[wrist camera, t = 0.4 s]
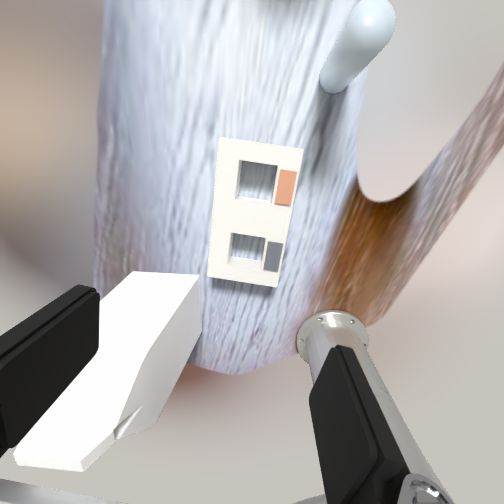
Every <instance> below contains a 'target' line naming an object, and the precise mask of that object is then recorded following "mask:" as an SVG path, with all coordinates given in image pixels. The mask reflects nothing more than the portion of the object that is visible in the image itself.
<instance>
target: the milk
mask: <svg viewBox="0 0 504 504" xmlns="http://www.w3.org/2000/svg"><path fill="white" fill-rule="evenodd" d="M201 332H202V314H201V292H200V275H188V274H170V273H153V272H135V271H133V272H132V273H131V274H129V275H128V276H127V277H126V278H125V279H124V280H123V281H122V282H121V283H120V284H119V285H118V286H116V287H115V288H114V289H113V290H112V291H111V292H110V293H109V294H108V295H107V296H106V297H104V298H103V299H102V300H101V301H100V315H99V348H98V351H97V353H96V355H95V356H94V357H93V358H92V360H91V361H90V362H89V363H88V364H87V365H86V366H85V368H84V369H83V370H82V371H81V372H80V373H79V375H78V376H77V377H76V378H75V379H74V380H73V381H72V383H71V384H70V385H69V386H68V387H67V388H66V390H65V391H64V392H63V393H62V394H61V395H60V396H59V398H58V399H57V400H56V401H55V402H54V403H53V404H52V406H51V407H50V408H49V409H48V410H47V411H46V413H45V414H44V415H43V416H42V417H41V418H40V419H39V421H38V422H37V423H36V424H35V425H34V426H33V428H32V429H31V430H30V431H29V432H28V433H27V434H26V436H25V437H24V438H23V439H22V440H21V441H20V443H19V445H18V446H17V448H16V450H15V452H14V454H13V455H14V457H15V460H16V462H17V464H18V465H22V466H31V467H41V468H51V469H61V470H70V471H80V472H84V471H85V470H86V469H87V468H88V467H89V466H90V465H91V464H92V463H93V462H94V461H95V460H96V459H97V458H98V457H100V456H101V454H103V453H104V452H105V451H106V450H107V449H108V448H109V447H110V446H111V445H112V444H113V443H114V442H115V440H116V439H121V438H123V437H127V436H129V435H132V434H135V433H138V432H141V431H144V430H147V429H149V428H150V427H152V426H153V425H154V424H155V423H156V421H157V420H158V418H159V417H160V415H161V413H162V411H163V408H164V407H165V404H166V403H167V401H168V399H169V397H170V395H171V392H172V390H173V388H174V386H175V384H176V382H177V380H178V378H179V376H180V374H181V372H182V370H183V368H184V366H185V364H186V362H187V360H188V358H189V356H190V354H191V352H192V350H193V348H194V346H195V344H196V342H197V340H198V338H199V336H200V334H201Z"/></svg>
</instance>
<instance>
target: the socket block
mask: <svg viewBox="0 0 504 504" xmlns="http://www.w3.org/2000/svg"><path fill="white" fill-rule="evenodd" d="M303 152H304V149H299V148H293V147H286V146H279V145H272V144H265V143H259V142H252V141H245V140H238V139H232V138H225V137H219V145H218V156H217V168H216V179H215V191H214V202H213V214H212V225H211V237H210V248H209V260H208V271H207V277H214V278H220V279H226V280H233V281H239V282H245V283H252V284H258V285H264V286H271V287H277V285H278V279H279V274H280V269H281V264H282V259H283V254H284V249H285V244H286V239H287V233H288V228H289V223H290V218H291V213H292V208H293V203H294V198H295V193H296V187H297V182H298V177H299V172H300V167H301V162H302V157H303ZM242 160H243V161H250V162H256V163H263V164H270V165H276V166H277V171H276V177H275V183H274V189H273V195H272V201H267V200H261V199H254V198H247V197H241V196H238V193H239V184H240V176H241V168H242ZM234 233H237V234H244V235H250V236H257V237H263V238H265V243H264V249H263V256H262V261H258V260H252V259H245V258H239V257H233V256H231V251H232V243H233V235H234Z"/></svg>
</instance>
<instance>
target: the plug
mask: <svg viewBox="0 0 504 504" xmlns="http://www.w3.org/2000/svg"><path fill="white" fill-rule="evenodd" d="M395 20H396V19H395V13H394V10H393V7H392V6H391V4H390V3H389V2H388V1H387V0H362V1H361V2H359V3H358V4H357V5H356V6H355V8H354V9H353V10H352V12H351V14H350V16H349V18H348V19H347V21H346V23H345V25H344V27H343V29H342V31H341V33H340V35H339V36H338V38H337V40H336V42H335V44H334V46H333V48H332V50H331V52H330V54H329V55H328V57H327V59H326V61H325V63H324V65H323V67H322V69H321V71H320V75H319V81H320V85H321V87H322V88H323V90H324V91H326V92H327V93H330V94H336V93H339V92H341V91H343V90H344V89H345V88H346V87H347V86H348V85H349V84H350V83H351V81H352V80H353V79H354V78H355V77H356V76H357V75H358V74H359V73H360V72H361V71H362V70H363V69H364V68H365V67H366V66H367V65H368V64H369V63H370V62H371V61H372V59H374V58H375V56H376V55H377V54H378V53H379V52H380V51H381V50H382V49H383V48H384V47H385V46H386V45H387V44H388V42H389V41H390V39H391V37H392V35H393V32H394V29H395Z"/></svg>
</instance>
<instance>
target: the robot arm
mask: <svg viewBox="0 0 504 504" xmlns="http://www.w3.org/2000/svg"><path fill="white" fill-rule="evenodd" d="M99 315H100V295H99V293H97V292H96V289H95V288H92V287H88V286H84V285H76V286H75V287H73V288H72V289H70V290H69V291H67V292H66V293H65V294H63V295H61V296H60V297H58V298H57V299H55V300H54V301H52V302H51V303H49V304H48V305H46V306H45V307H43V308H42V309H40V310H39V311H37V312H36V313H34V314H33V315H31V316H30V317H28V318H27V319H25V320H24V321H22V322H21V323H19V324H18V325H16V326H15V327H13V328H12V329H10V330H9V331H7V332H6V333H4V334H3V335H1V336H0V458H1V457H2V455H3V454H4V453H5V452H6V451H7V450H8V449H9V448H13V447H15V446H16V445H17V444H18V443H19V442H20V441H21V440H22V439H23V438H24V437H25V436H26V434H27V433H28V432H29V431H30V430H31V429H32V428H33V426H34V425H35V424H36V423H37V422H38V421H39V419H40V418H41V417H42V416H43V415H44V414H45V413H46V411H47V410H48V409H49V408H50V407H51V406H52V404H53V403H54V402H55V401H56V400H57V399H58V398H59V396H60V395H61V394H62V393H63V392H64V391H65V390H66V388H67V387H68V386H69V385H70V384H71V383H72V381H73V380H74V379H75V378H76V377H77V376H78V375H79V373H80V372H81V371H82V370H83V369H84V368H85V366H86V365H87V364H88V363H89V362H90V361H91V360H92V358H93V357H94V356H95V355H96V353H97V351H98V348H99ZM296 342H297V348H298V352H299V354H300V355H301V357H302V358H303V359H304V361H306V362H307V363H308V364H309V365H310V370H311V375H312V380H313V385H314V386H313V388H312V390H311V393H310V396H309V406H310V411H311V417H312V422H313V428H314V433H315V439H316V445H317V450H318V456H319V462H320V467H321V473H322V478H323V484H324V489H325V494H323V495H319V496H316V497H312V498H308V499H305V500H302V501H299V502H296V503H293V504H455V502H454V501H453V500H452V498H451V497H450V495H449V494H448V492H447V491H446V489H445V488H444V486H443V485H442V483H441V482H440V480H439V479H438V478H437V476H436V474H435V473H434V471H433V470H432V468H431V467H430V465H429V463H428V462H427V460H426V459H425V457H424V455H423V454H422V452H421V450H420V448H419V447H418V445H417V443H416V441H415V440H414V438H413V436H412V434H411V433H410V431H409V429H408V427H407V425H406V423H405V422H404V420H403V418H402V416H401V414H400V412H399V410H398V408H397V407H396V405H395V403H394V401H393V399H392V397H391V395H390V393H389V392H388V390H387V388H386V386H385V384H384V382H383V380H382V378H381V376H380V374H379V373H378V371H377V369H376V367H375V365H374V363H373V361H372V359H371V357H370V355H369V354H368V352H367V347H368V342H369V339H368V333H367V330H366V329H365V327H364V325H363V324H362V322H361V321H360V320H359V319H358V318H357V317H355V316H354V315H352V314H350V313H347V312H344V311H339V310H328V311H322V312H319V313H317V314H315V315H313V316H311V317H309V318H308V319H307V320H306V321H305V322H304V323H303V324H302V325H301V327H300V328H299V330H298V333H297V340H296ZM0 504H126V503H122V502H117V501H111V500H106V499H102V498H96V497H91V496H86V495H81V494H76V493H71V492H66V491H60V490H56V489H50V488H45V487H40V486H35V485H30V484H25V483H20V482H14V481H9V480H4V479H0Z"/></svg>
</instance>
